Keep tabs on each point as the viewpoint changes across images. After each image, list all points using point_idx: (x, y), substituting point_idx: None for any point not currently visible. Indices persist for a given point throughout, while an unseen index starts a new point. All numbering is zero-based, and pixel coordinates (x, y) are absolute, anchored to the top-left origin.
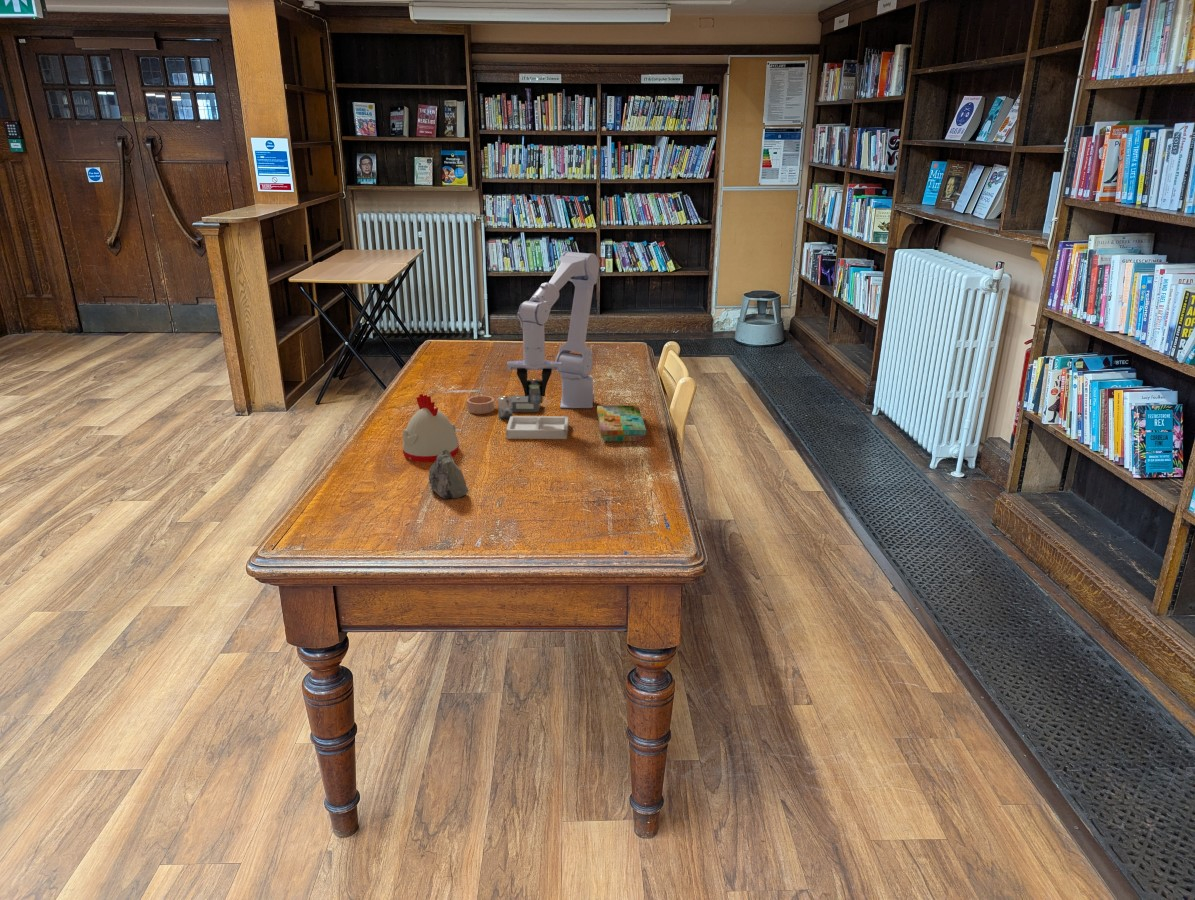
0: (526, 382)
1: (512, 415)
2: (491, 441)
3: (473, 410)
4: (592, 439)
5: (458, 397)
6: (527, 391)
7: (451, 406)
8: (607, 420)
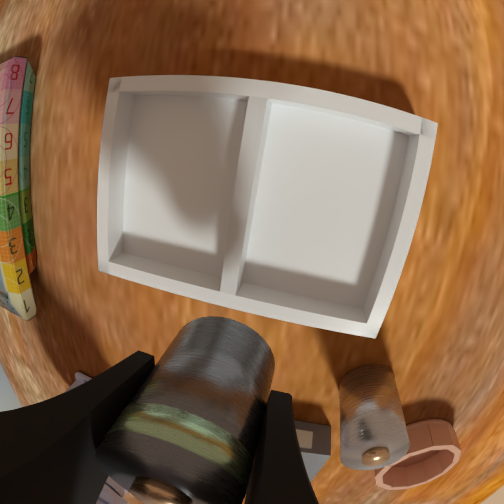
0: (252, 499)
1: (343, 386)
2: (479, 115)
3: (450, 428)
4: (59, 89)
5: (423, 491)
6: (262, 427)
7: (466, 455)
8: None
